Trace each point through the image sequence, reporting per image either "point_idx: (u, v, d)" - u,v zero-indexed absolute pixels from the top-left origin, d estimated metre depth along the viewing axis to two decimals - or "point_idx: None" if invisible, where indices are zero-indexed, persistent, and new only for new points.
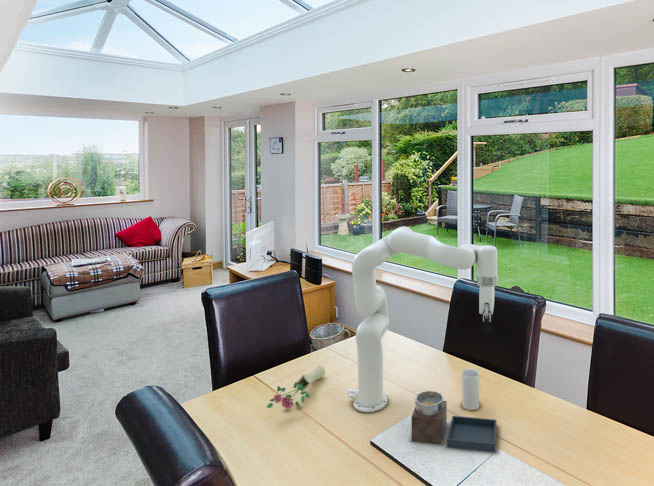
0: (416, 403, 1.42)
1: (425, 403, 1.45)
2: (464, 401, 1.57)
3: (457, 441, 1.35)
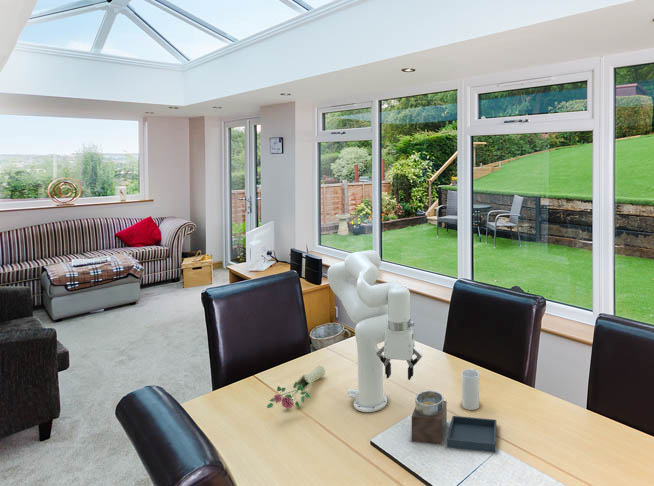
0: (416, 403, 1.42)
1: (425, 403, 1.45)
2: (464, 401, 1.57)
3: (457, 441, 1.35)
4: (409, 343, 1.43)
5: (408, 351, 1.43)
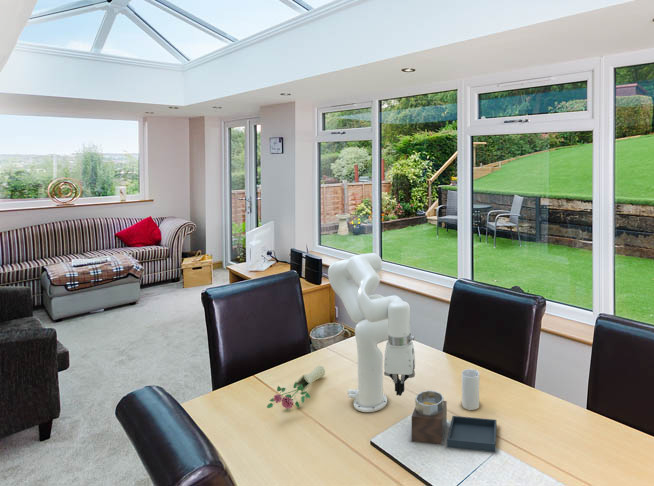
0: (416, 403, 1.42)
1: (425, 403, 1.45)
2: (464, 401, 1.57)
3: (457, 441, 1.35)
4: (409, 358, 1.43)
5: (408, 366, 1.43)
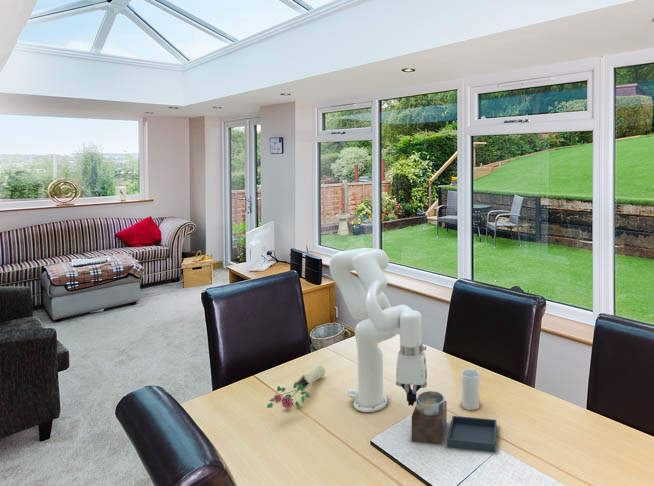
0: (417, 403, 1.42)
1: (426, 403, 1.45)
2: (464, 401, 1.57)
3: (457, 441, 1.35)
4: (421, 368, 1.42)
5: (420, 376, 1.42)
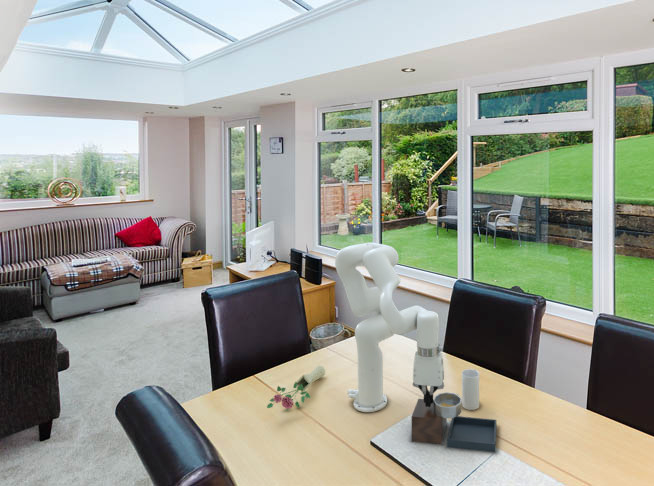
0: (434, 405, 1.41)
1: (443, 405, 1.44)
2: (464, 401, 1.57)
3: (457, 441, 1.35)
4: (439, 369, 1.41)
5: (438, 377, 1.41)
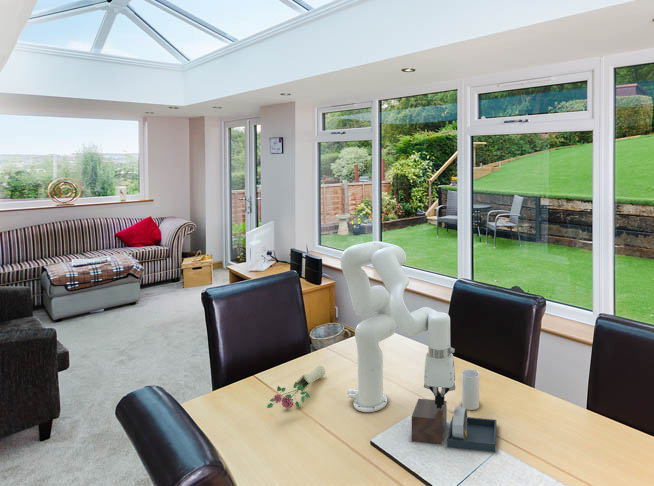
0: (460, 420, 1.36)
1: None
2: (464, 401, 1.57)
3: (457, 441, 1.35)
4: (450, 370, 1.41)
5: (449, 379, 1.40)
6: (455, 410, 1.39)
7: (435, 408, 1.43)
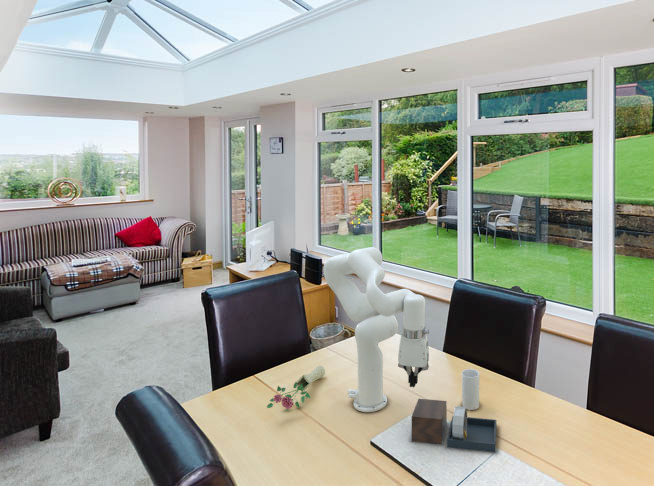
0: (460, 420, 1.36)
1: None
2: (464, 401, 1.57)
3: (457, 441, 1.35)
4: (424, 351, 1.44)
5: (422, 359, 1.44)
6: (455, 410, 1.39)
7: (435, 408, 1.43)
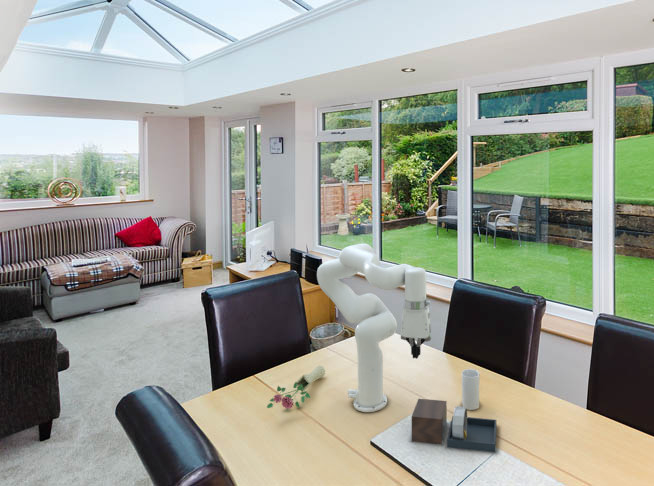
0: (460, 420, 1.36)
1: None
2: (464, 401, 1.57)
3: (457, 441, 1.35)
4: (426, 321, 1.46)
5: (425, 329, 1.46)
6: (455, 410, 1.39)
7: (435, 408, 1.43)
